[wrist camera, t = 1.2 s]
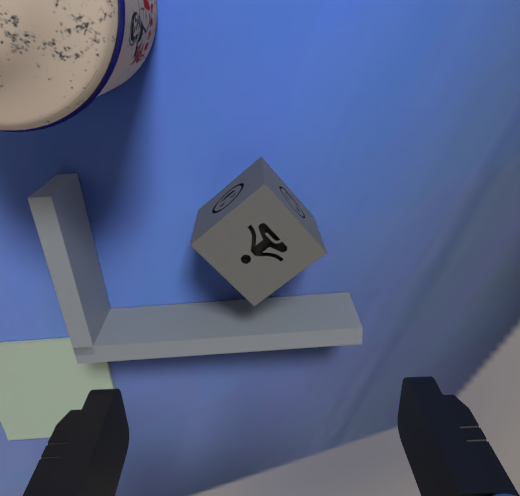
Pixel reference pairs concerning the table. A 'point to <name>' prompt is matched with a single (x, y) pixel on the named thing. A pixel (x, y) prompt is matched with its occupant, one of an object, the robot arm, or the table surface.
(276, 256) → the dice cube
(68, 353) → the mat
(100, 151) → the table surface
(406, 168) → the table surface
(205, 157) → the table surface
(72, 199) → the pen walls
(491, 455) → the robot arm
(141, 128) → the table surface
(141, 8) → the teacup with lid
